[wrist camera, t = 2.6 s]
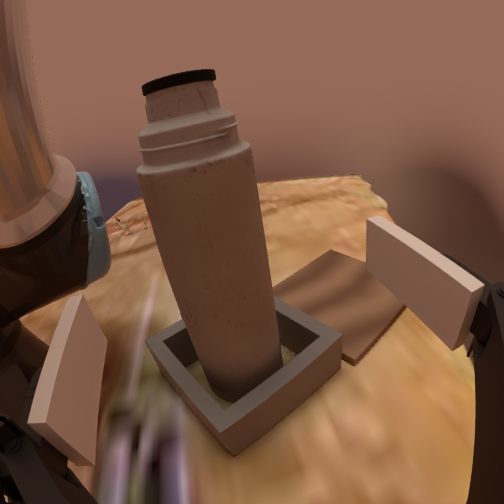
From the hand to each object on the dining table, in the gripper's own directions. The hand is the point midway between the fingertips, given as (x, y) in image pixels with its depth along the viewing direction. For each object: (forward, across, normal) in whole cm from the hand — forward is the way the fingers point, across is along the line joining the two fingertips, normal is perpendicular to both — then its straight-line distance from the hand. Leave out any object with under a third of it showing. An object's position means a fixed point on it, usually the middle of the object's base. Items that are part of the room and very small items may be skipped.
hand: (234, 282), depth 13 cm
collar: (+11, -1, -18) cm, 22 cm away
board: (+17, +14, -18) cm, 29 cm away
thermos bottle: (+10, 0, -18) cm, 21 cm away
